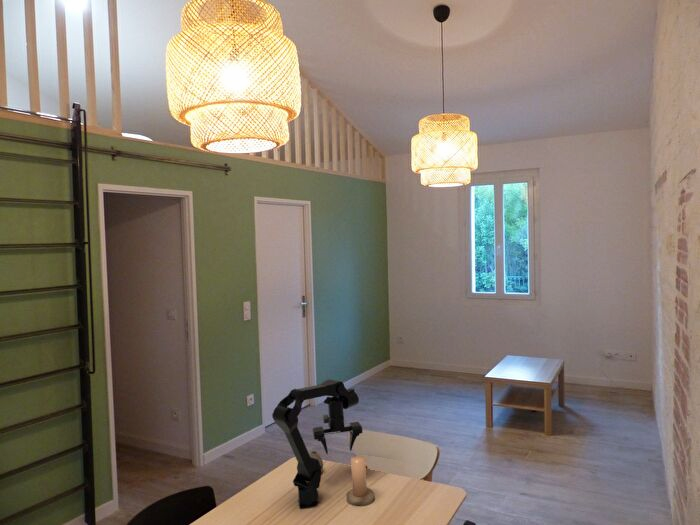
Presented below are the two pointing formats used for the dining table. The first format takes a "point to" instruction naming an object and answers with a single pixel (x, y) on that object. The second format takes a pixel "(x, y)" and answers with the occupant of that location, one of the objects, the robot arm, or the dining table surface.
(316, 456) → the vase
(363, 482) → the tan tapered cylinder
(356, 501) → the stand
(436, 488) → the dining table surface
